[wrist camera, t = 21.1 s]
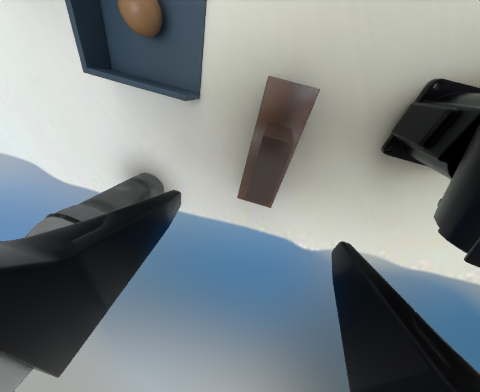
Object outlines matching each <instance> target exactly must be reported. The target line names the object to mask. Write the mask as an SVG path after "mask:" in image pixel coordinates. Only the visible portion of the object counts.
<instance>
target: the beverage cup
mask: <svg viewBox="0 0 480 392" xmlns="http://www.w3.org/2000/svg"><path fill="white" fill-rule="evenodd" d="M163 193H164V188H163V185H162V184H161V182H160V181H159V180H158V179H157V178H156V177H155V176H153V175H151V174H148V173H143V174H140V175H138V176H136V177H132V178H130V179H128V180H126V181H124V182H122V183H120V184H118V185H116V186H114V187H112V188H110V189H108V190H106V191H104V192H102V193H100V194H98V195H96V196H94V197H92V198H90V199H88V200H86V201H84V202H82V203H80V204H78V205H74V206H71V207H69V208H66V209H63V210H61V211H59V212H57V213H55V214H49V215H48V216H47V217H46V218H45V219H44V220H43V221H41V222H40V223H38V224H37V225H36V226H35V227H34V228H33V229H32V230H31V231H30V232H29V233H28V235H27V236H26V237H29V236H33V235H36V234H40V233H43V232H47V231H50V230H54V229H57V228H61V227H64V226H68V225H71V224H75V223H78V222H81V221H85V220H88V219H91V218H94V217H97V216H100V215H103V214H107V213H108V212H111V211H114V210H117V209H120V208H123V207H126V206H129V205H131V204H134V203H137V202H140V201H143V200H146V199H149V198H152V197H155V196H157V195H160V194H163Z"/></svg>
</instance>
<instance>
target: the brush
mask: <svg viewBox="0 0 480 392" xmlns="http://www.w3.org/2000/svg"><path fill="white" fill-rule="evenodd" d="M319 91H320V89H316V88H312V87H309V86H305V85H301V84H297V83H293V82H290V81H286V80H282V79H278V78H275V77H271V76H268V80H267V84H266V88H265V92H264V96H263V100H262V103H261V107H260V111H259V115H258V119H257V123H256V127H255V131H254V135H253V139H252V142H251V146H250V150H249V154H248V158H247V162H246V166H245V170H244V174H243V178H242V182H241V185H240V189H239V193H238V197H237V198H239V199H243V200H246V201H249V202H253V203H256V204H259V205H262V206H266V207H269V208H271V206H272V204H273V201H274V199H275V197H276V194H277V192H278V189H279V187H280V185H281V182H282V180H283V177H284V175H285V172H286V170H287V168H288V165H289V163H290V160H291V158H292V156H293V153H294V151H295V148H296V146H297V144H298V141H299V139H300V136H301V134H302V132H303V129H304V127H305V124H306V122H307V120H308V117H309V115H310V112H311V110H312V108H313V105H314V103H315V100H316V98H317V96H318V93H319Z"/></svg>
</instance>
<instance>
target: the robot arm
mask: <svg viewBox="0 0 480 392" xmlns="http://www.w3.org/2000/svg"><path fill="white" fill-rule="evenodd" d="M436 83H438V86H437V87H436V88H435V89H433V87H434V85H435V84H436ZM389 147H390V150H388V151H386V150H387V149H388V148H389ZM382 152H383V153H384V154H386V155H389V156H393V157H397V158H400V159H404V160H407V161H411V162H414V163H418V164H422V165H425V166H429V167H430V168H432V169H434V170H435V171H437V172H439V173H441V174H442V175H444V176H446V177H448V178H449V179H451V182H450V184H449V186H448V188H447V190H446V192H445V194H444V196H443V198H442V199H440V201H439V203H438V208H437V210H436V212H435V215H434V218H435V220H436V222H437V225H438V226H439V227H440V228H439V230H438V232H439V233H440V234H441V235H442V236H443V237H444V238H445V239H446V240H447V241H449V242H450V243H451V244H453V245H454V246H456V247H457V248H459V249H460V250H462V251H463V252H465V253H467V255H466V256H465V258H464V260H465V261H466V262H467V263H469V264H472V265H474V266H477V267H480V88H477V87H473V86H469V85H465V84H461V83H457V82H453V81H449V80H446V79H434V80H432V81H431V82H430V83H429V84H428V85H427V86H426V88H425V89H424V90H423V92H422V93H421V95H420V96H419V97H418V99H417V100H416V102H415V103H414V104H412V105H411V106H410V108H409V109H408V110H407V112H406V113H405V115H404V116H403V117H402V119H401V120H400V121H399V123H398V124H397V126H396V127H395V128H394V130H393V131H392V135H391V136H390V138H389V139H388V140H387V142H386V143H385V145H384V146H383V147H382ZM180 205H181V193H180V192H179V191H175V190H172V191H169V192H166V193H163V194H160V195H157V196H155V197H152V198H149V199H146V200H143V201H140V202H137V203H134V204H131V205H129V206H126V207H123V208H120V209H117V210H114V211H111V212H108V213H107V214H103V215H100V216H97V217H94V218H91V219H88V220H85V221H81V222H78V223H75V224H71V225H68V226H64V227H61V228H57V229H54V230H50V231H47V232H43V233H40V234H36V235H33V236H29V237H25V238H21V239H16V240H10V241H0V392H14V391H15V389H16V388H17V387H18V386H19V385H20V384H21V382H22V381H23V380H24V379H25V378H26V377H27V375H28V374H29V373H30V372H31V371H32V370H33V369H36V370H38V371H41V372H44V373H46V374H49V375H52V376H55V377H57V378H58V377H59V376H60V375H61V374H62V373H63V371H64V370H65V368H66V367H67V366H68V365H69V363H70V362H71V360H72V359H73V358H74V356H75V355H76V354H77V352H78V351H79V350H80V348H81V347H82V345H83V344H84V343H85V341H86V340H87V339H88V337H89V336H90V335H91V333H92V332H93V330H94V329H95V328H96V326H97V325H98V324H99V322H100V321H101V319H102V318H103V317H104V315H105V314H106V312H107V311H108V309H109V308H110V307H111V306H112V304H113V303H114V302H115V300H116V299H117V297H118V296H119V295H120V293H121V292H122V291H123V289H124V288H125V287H126V285H127V284H128V282H129V281H130V280H131V278H132V277H133V276H134V274H135V273H136V271H137V270H138V269H139V267H140V266H141V265H142V263H143V262H144V261H145V259H146V258H147V256H148V255H149V254H150V252H151V251H152V250H153V248H154V247H155V246H156V244H157V243H158V241H159V240H160V239H161V237H162V236H163V234H164V233H165V232H166V230H167V229H168V227H169V226H170V224H171V222H172V220H173V218H174V217H175V215H176V213H177V211H178V210H179V208H180ZM332 275H333V286H334V292H335V299H336V305H337V311H338V318H339V324H340V330H341V337H342V342H343V350H344V356H345V362H346V369H347V375H348V381H349V388H350V392H480V374H479V373H478V372H477V371H476V370H475V369H474V368H473V367H472V366H471V365H470V364H469V363H468V362H467V361H465V360H464V359H463V358H462V357H461V356H460V355H459V354H458V353H457V352H456V351H455V350H454V349H453V348H452V347H451V346H450V345H449V344H448V343H447V342H446V341H445V340H444V339H442V338H441V337H440V336H439V335H438V334H437V333H436V332H435V331H434V330H433V329H432V328H431V327H430V326H429V325H428V324H427V323H426V322H425V321H424V320H423V319H422V317H421V316H420V315H419V314H418V313H417V312H415V311H414V309H413V308H412V307H411V306H410V305H409V304H408V303H407V302H406V301H405V300H404V299H403V298H402V297H401V296H400V295H399V294H398V293H397V292H396V291H395V290H394V289H393V288H392V287H391V286H390V285H389V284H388V283H387V281H385V279H384V278H383V277H382V276H381V275H380V274H379V273H378V272H377V271H376V270H375V269H374V268H373V267H372V266H371V265H370V264H369V263H368V262H367V261H366V260H365V259H364V258H363V257H362V256H361V255H360V254H359V253H358V252H357V251H356V250H355V249H354V248H353V247H352V245H350V244H349V243H346V242H340V243H339V244H338V245H337V246H336V247H335V248H334V250H333V251H332Z"/></svg>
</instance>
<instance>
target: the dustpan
mask: <svg viewBox="0 0 480 392" xmlns="http://www.w3.org/2000/svg"><path fill="white" fill-rule="evenodd" d="M157 1H158V3H159V5H160V8H161V12H162V26H161V29H160V31H159V32H158V33H157V34H156V35H155V36H153V37H143V36H140V35H138V34H137V33H135V32H134V31H133V30H132V29H131V28H130V27H129V26H128V25H127V24H126V22H125V21H124V19H123V17H122V15H121V13H120V10H119V6H118V0H65V2H66V6H67V10H68V14H69V18H70V21H71V25H72V29H73V33H74V37H75V41H76V45H77V49H78V53H79V56H80V60H81V64H82V68H83V72H84V73H88V74H91V75H95V76H98V77H102V78H106V79H109V80H113V81H116V82H120V83H123V84H127V85H131V86H134V87H138V88H141V89H145V90H148V91H152V92H155V93H159V94H163V95H166V96H170V97H173V98H177V99H180V100H184V101H188V100H193V99H199V98H200V83H201V69H202V54H203V40H204V26H205V11H206V0H157ZM100 3H101V5H100ZM101 8H102V11H101ZM102 14H103V17H102ZM103 20H104V22H103ZM104 25H105V28H104ZM105 31H106V34H105ZM106 37H107V39H106ZM107 43H108V45H107ZM108 48H109V51H108ZM109 54H110V56H109ZM110 60H111V62H110ZM111 65H112V68H111Z"/></svg>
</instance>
